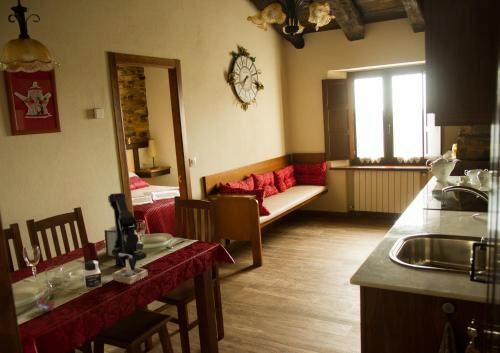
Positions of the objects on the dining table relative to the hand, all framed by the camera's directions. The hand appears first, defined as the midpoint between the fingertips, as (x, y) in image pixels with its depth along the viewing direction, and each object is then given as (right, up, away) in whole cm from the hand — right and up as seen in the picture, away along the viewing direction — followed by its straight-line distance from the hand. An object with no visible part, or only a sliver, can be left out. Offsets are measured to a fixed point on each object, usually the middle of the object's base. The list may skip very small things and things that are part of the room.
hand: (129, 269), depth 211 cm
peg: (0, -4, +1) cm, 4 cm away
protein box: (-16, +2, +38) cm, 41 cm away
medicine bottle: (-16, -6, -8) cm, 18 cm away
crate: (0, -4, +1) cm, 4 cm away
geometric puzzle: (-26, -10, -32) cm, 43 cm away
